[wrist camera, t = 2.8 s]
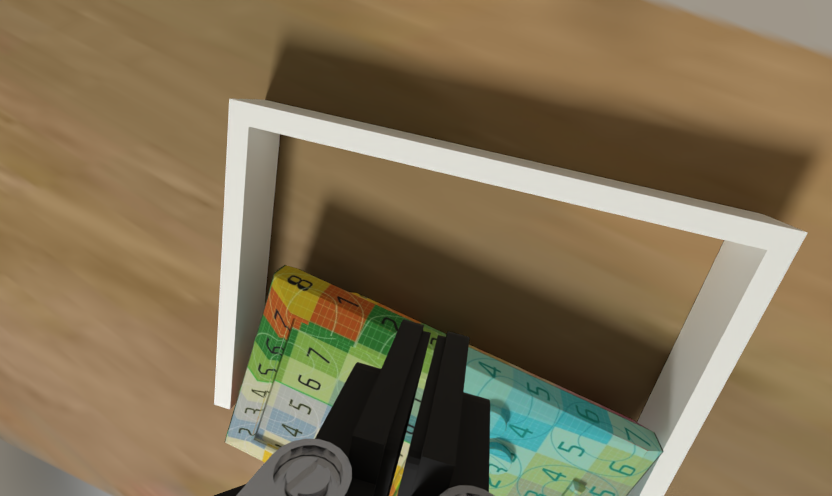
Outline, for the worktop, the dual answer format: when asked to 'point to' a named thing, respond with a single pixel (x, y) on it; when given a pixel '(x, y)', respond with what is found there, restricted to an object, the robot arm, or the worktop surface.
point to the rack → (740, 229)
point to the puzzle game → (485, 377)
